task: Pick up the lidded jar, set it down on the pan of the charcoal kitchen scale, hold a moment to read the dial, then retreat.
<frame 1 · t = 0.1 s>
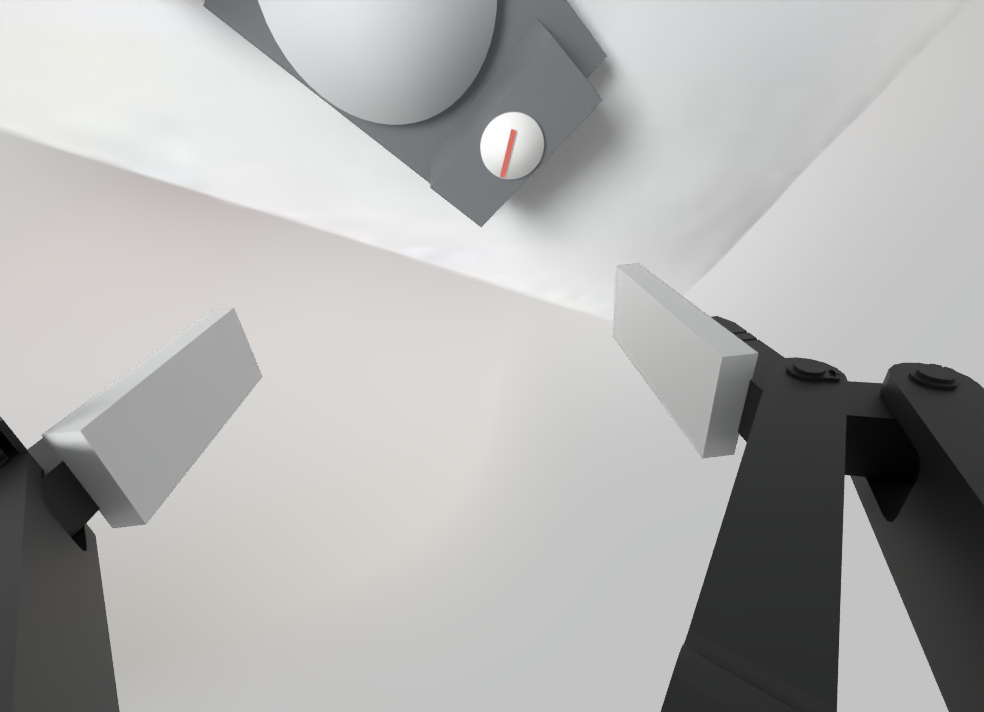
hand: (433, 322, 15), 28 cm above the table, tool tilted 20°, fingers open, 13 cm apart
scale: (419, 25, 31), on the table
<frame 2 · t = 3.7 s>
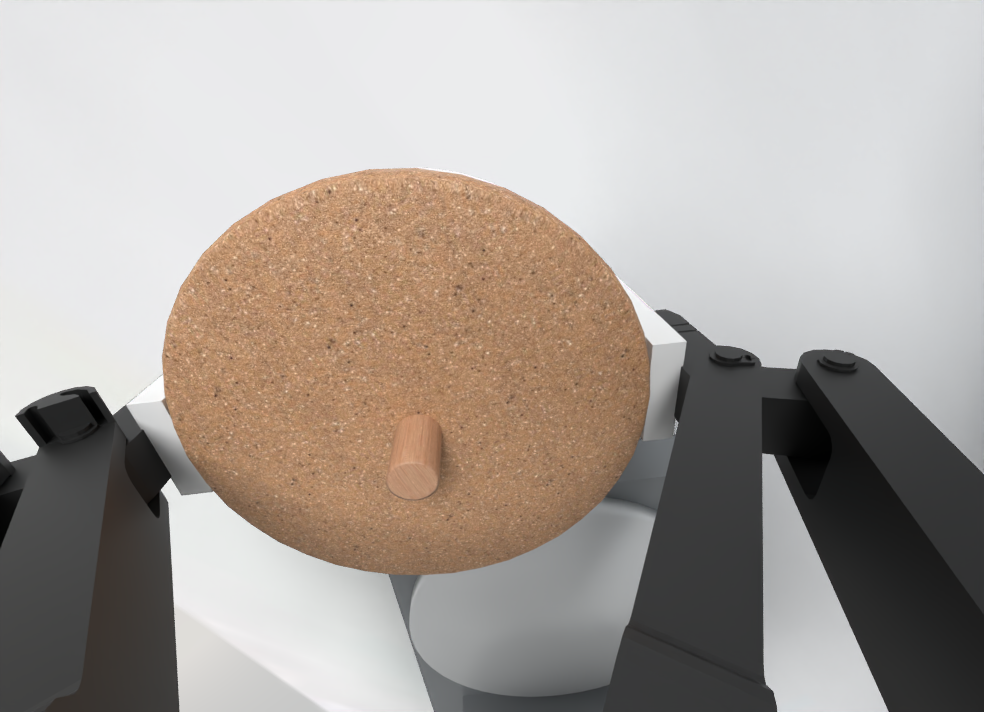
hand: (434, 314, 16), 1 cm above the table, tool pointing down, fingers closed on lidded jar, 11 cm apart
lidded jar: (435, 301, 17), on the table, touching gripper
scale: (550, 589, 26), on the table
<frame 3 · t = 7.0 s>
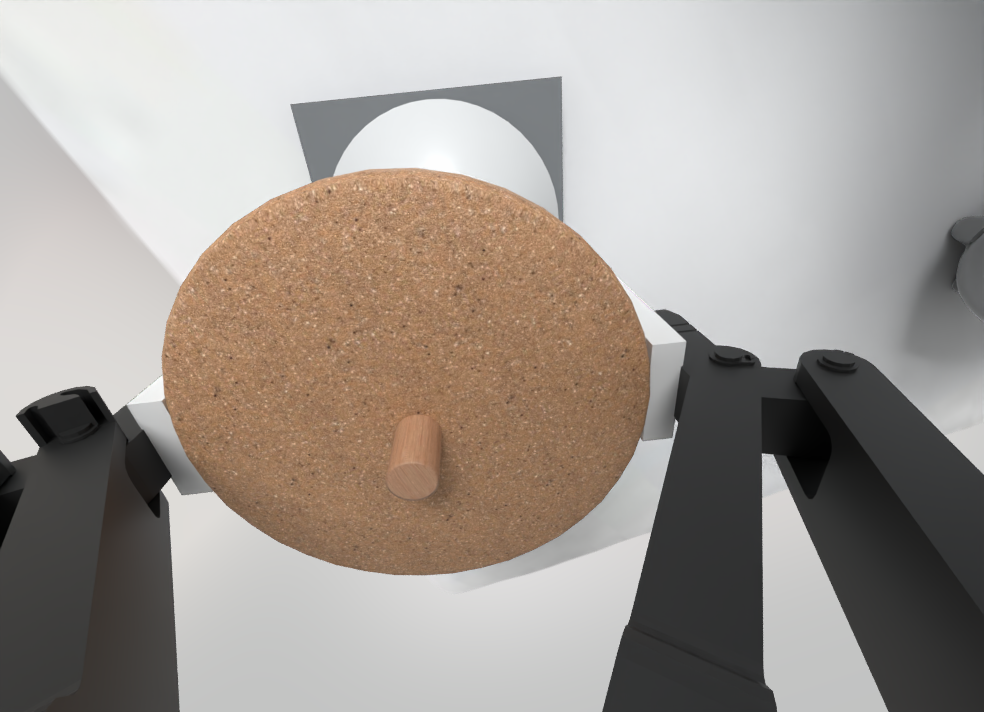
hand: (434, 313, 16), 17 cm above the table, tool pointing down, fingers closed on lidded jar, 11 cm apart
lidded jar: (435, 301, 17), point 16 cm above the table, touching gripper
scale: (452, 261, 32), on the table
when the fingers open (6 cm above the table, at t = 10.0 s): lidded jar drops 1 cm, resting on scale.
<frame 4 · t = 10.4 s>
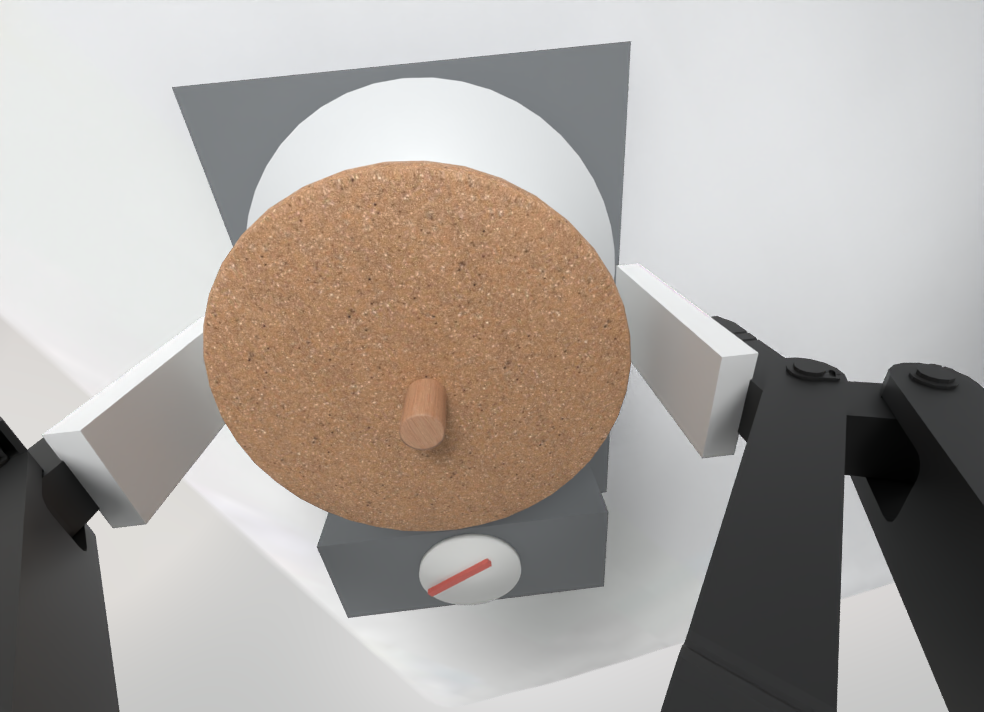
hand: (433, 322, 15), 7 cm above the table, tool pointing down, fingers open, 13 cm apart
lidded jar: (438, 288, 18), point 3 cm above the table, touching scale
scale: (448, 323, 22), on the table
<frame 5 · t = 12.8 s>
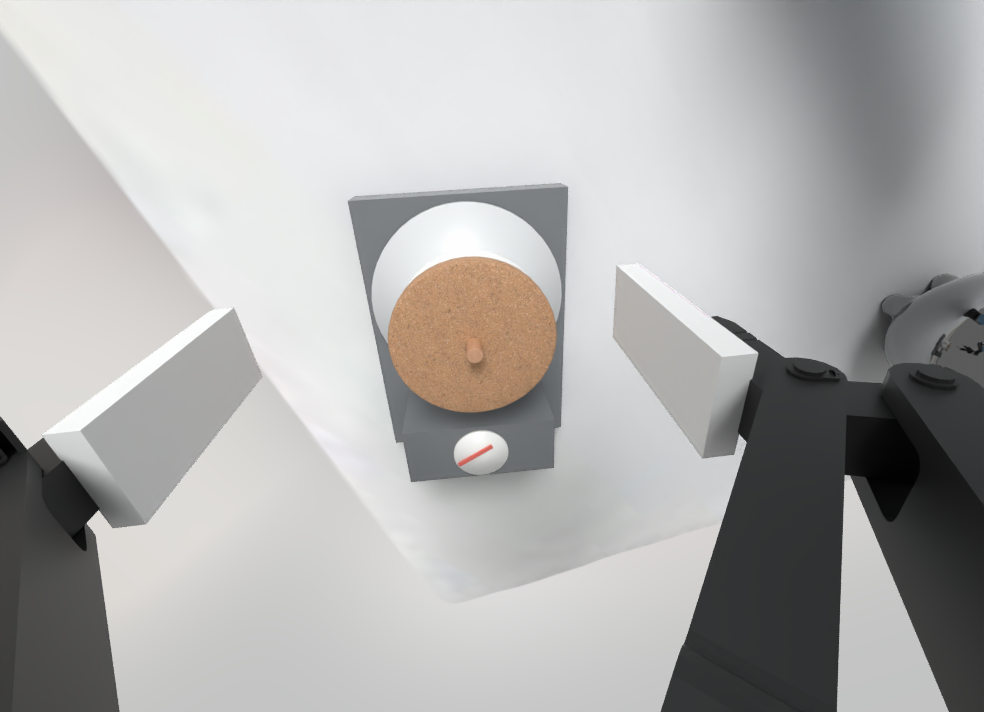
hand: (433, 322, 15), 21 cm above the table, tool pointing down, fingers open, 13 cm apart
piggy bank: (914, 311, 42), on the table
lidded jar: (469, 300, 34), point 3 cm above the table, touching scale
scale: (469, 320, 38), on the table
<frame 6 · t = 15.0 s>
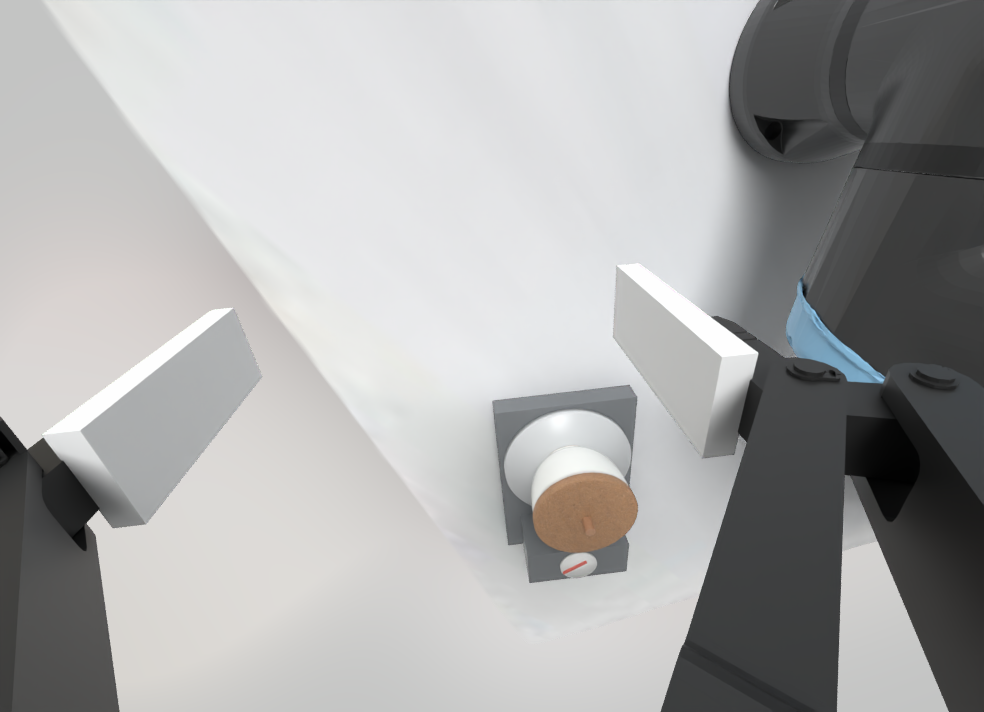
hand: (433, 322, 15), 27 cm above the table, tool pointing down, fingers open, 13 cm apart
lidded jar: (568, 464, 50), point 3 cm above the table, touching scale
scale: (562, 464, 54), on the table
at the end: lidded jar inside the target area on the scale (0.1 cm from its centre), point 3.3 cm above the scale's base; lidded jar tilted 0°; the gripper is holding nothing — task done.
